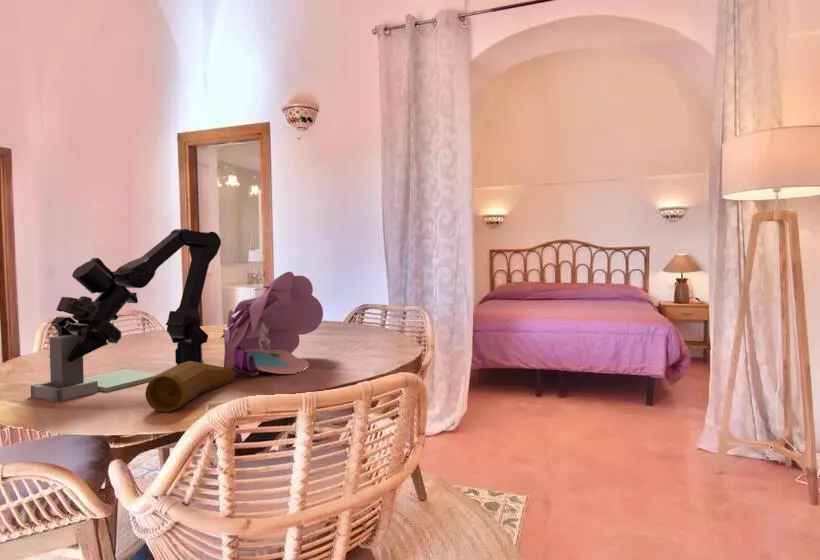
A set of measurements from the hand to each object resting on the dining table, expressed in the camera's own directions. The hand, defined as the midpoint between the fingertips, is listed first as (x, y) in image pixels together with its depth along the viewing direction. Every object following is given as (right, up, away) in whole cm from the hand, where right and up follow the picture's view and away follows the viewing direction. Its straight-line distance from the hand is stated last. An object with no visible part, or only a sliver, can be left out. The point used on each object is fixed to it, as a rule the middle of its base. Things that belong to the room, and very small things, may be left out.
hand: (59, 359), depth 109 cm
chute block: (+1, -8, +2) cm, 8 cm away
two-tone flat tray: (+4, -8, +8) cm, 11 cm away
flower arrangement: (+41, -7, +26) cm, 49 cm away
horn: (+31, -8, -1) cm, 32 cm away
